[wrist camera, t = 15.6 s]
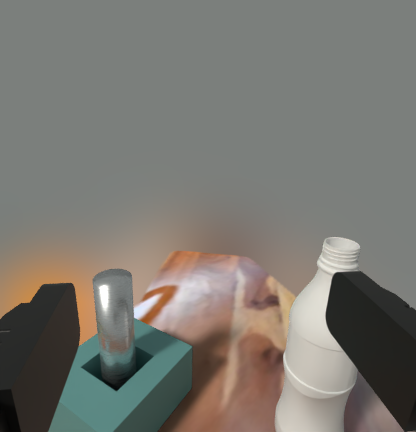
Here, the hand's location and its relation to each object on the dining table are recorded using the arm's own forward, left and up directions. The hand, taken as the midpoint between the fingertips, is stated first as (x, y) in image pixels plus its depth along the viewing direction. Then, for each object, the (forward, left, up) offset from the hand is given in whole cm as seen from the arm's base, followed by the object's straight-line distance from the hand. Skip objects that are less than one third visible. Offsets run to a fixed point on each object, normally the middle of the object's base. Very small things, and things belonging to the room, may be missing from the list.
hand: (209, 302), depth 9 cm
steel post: (-12, -19, -29) cm, 37 cm away
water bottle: (-20, +2, -30) cm, 36 cm away
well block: (-12, -19, -30) cm, 38 cm away
